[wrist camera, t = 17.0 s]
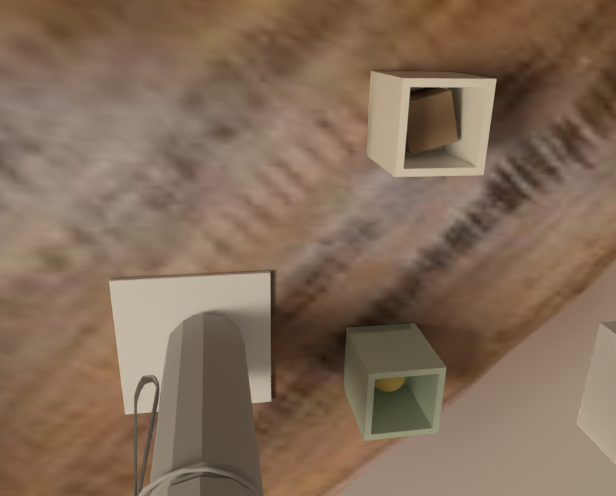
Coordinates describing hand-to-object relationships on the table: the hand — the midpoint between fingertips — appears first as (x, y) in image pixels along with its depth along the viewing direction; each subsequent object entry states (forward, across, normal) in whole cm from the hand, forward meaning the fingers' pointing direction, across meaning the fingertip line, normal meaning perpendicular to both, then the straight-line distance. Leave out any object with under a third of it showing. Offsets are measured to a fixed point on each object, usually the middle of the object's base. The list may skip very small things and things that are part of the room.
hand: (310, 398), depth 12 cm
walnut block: (+36, +15, +1) cm, 39 cm away
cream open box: (+37, +15, +1) cm, 40 cm away
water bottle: (+36, -4, -20) cm, 42 cm away
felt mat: (+37, -4, -20) cm, 42 cm away
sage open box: (+37, +14, -23) cm, 46 cm away
